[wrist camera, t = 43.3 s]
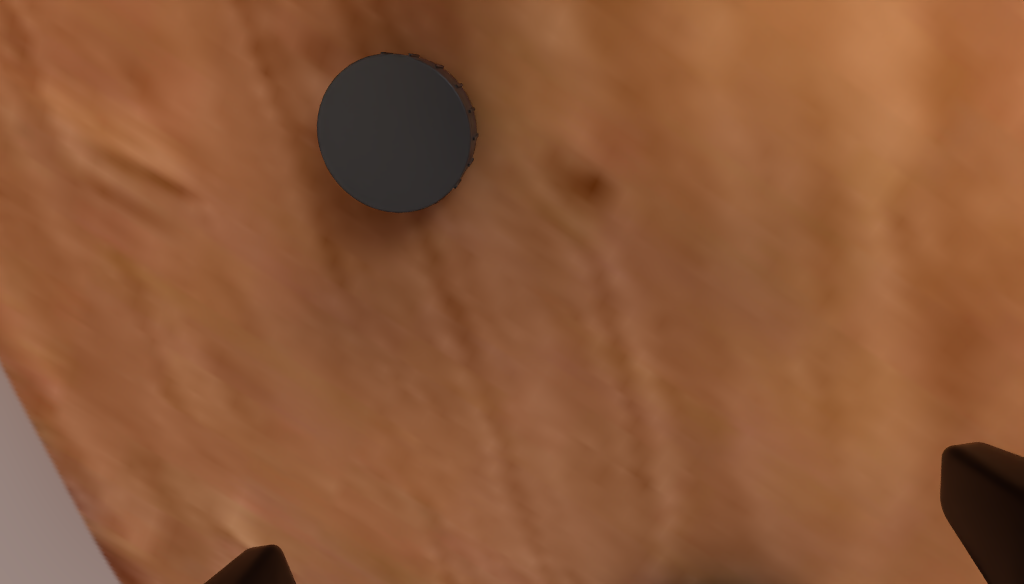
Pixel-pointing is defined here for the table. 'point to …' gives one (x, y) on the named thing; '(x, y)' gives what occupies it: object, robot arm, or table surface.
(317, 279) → the table surface
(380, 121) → the cap
